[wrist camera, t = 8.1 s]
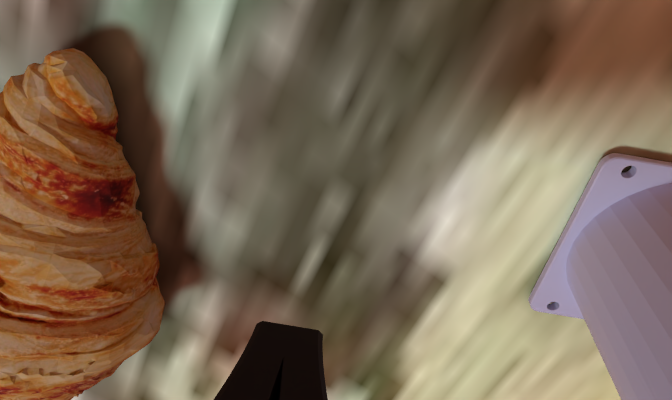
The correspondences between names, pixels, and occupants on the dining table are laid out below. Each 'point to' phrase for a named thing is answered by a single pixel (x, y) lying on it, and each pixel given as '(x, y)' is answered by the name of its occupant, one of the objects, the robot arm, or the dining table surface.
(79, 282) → the croissant
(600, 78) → the dining table surface
